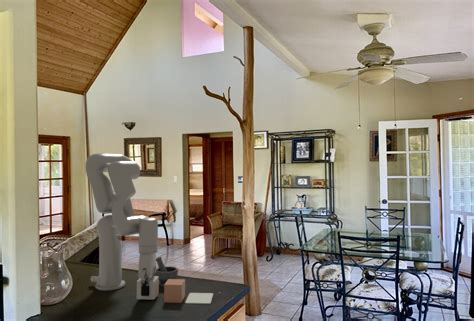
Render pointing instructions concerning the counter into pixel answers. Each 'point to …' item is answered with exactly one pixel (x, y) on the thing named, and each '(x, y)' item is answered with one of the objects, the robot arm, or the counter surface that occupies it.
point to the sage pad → (199, 298)
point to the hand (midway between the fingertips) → (147, 292)
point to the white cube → (152, 288)
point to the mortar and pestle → (165, 272)
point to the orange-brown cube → (174, 290)
